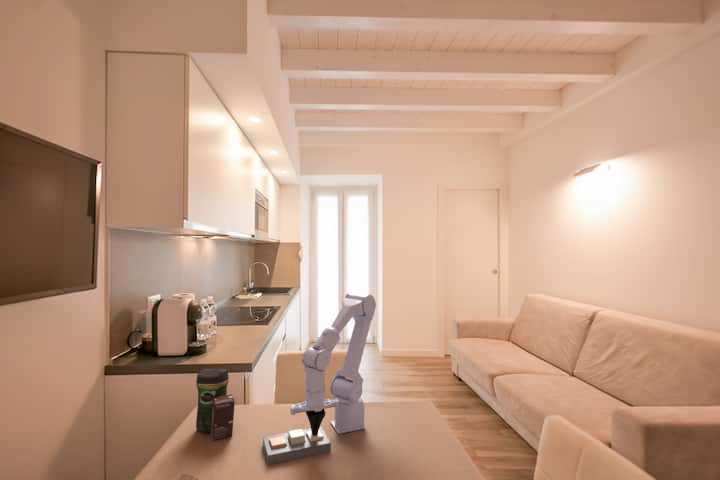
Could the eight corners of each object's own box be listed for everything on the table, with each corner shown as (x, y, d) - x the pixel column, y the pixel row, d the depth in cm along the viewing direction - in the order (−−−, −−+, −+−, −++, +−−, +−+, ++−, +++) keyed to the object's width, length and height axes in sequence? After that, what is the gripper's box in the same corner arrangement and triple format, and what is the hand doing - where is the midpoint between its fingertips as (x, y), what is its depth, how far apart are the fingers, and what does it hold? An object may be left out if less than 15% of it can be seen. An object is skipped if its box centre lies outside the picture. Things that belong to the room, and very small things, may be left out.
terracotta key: (283, 446, 110) (283, 436, 110) (285, 453, 106) (286, 443, 106) (269, 448, 108) (269, 438, 108) (271, 456, 104) (271, 445, 104)
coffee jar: (232, 422, 123) (232, 365, 124) (221, 433, 115) (221, 373, 116) (204, 421, 124) (205, 365, 125) (191, 432, 116) (192, 372, 117)
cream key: (319, 439, 114) (319, 429, 114) (322, 445, 110) (323, 435, 110) (306, 441, 112) (306, 431, 112) (309, 448, 109) (309, 438, 109)
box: (212, 441, 112) (214, 404, 110) (210, 432, 116) (212, 396, 114) (233, 436, 115) (235, 400, 114) (230, 428, 119) (232, 393, 117)
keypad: (321, 434, 117) (321, 426, 117) (330, 451, 108) (330, 442, 108) (262, 445, 110) (263, 437, 110) (267, 464, 101) (268, 455, 101)
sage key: (301, 438, 112) (301, 428, 112) (304, 445, 108) (304, 435, 108) (288, 441, 110) (288, 431, 110) (291, 448, 106) (291, 437, 106)
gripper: (294, 397, 105) (293, 445, 105) (342, 390, 110) (341, 436, 110) (289, 388, 111) (288, 433, 111) (335, 382, 117) (334, 425, 117)
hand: (314, 434), depth 111 cm, fingers closed, pressing on cream key
